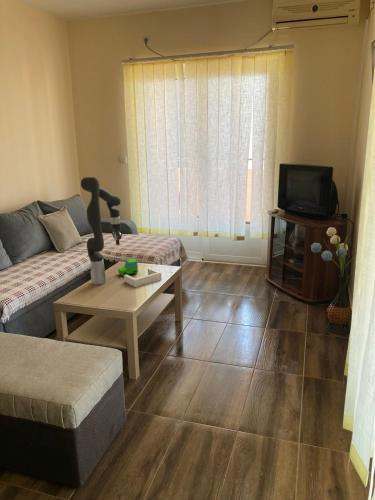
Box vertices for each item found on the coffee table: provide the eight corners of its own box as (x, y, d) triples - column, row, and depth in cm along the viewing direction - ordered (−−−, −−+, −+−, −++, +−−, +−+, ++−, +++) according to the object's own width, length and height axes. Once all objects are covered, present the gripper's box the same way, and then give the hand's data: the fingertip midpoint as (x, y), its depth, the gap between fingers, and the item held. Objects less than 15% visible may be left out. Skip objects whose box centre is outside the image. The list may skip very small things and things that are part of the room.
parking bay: (135, 287, 275) (134, 280, 274) (124, 281, 286) (124, 275, 285) (161, 279, 288) (161, 272, 286) (150, 274, 299) (149, 268, 298)
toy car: (118, 273, 305) (116, 261, 303) (134, 270, 311) (133, 258, 308) (121, 277, 296) (120, 264, 294) (138, 274, 302) (137, 261, 299)
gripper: (107, 222, 305) (109, 244, 310) (115, 224, 295) (117, 247, 300) (115, 220, 310) (118, 242, 314) (124, 222, 300) (126, 245, 304)
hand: (117, 244), depth 307 cm, fingers closed
